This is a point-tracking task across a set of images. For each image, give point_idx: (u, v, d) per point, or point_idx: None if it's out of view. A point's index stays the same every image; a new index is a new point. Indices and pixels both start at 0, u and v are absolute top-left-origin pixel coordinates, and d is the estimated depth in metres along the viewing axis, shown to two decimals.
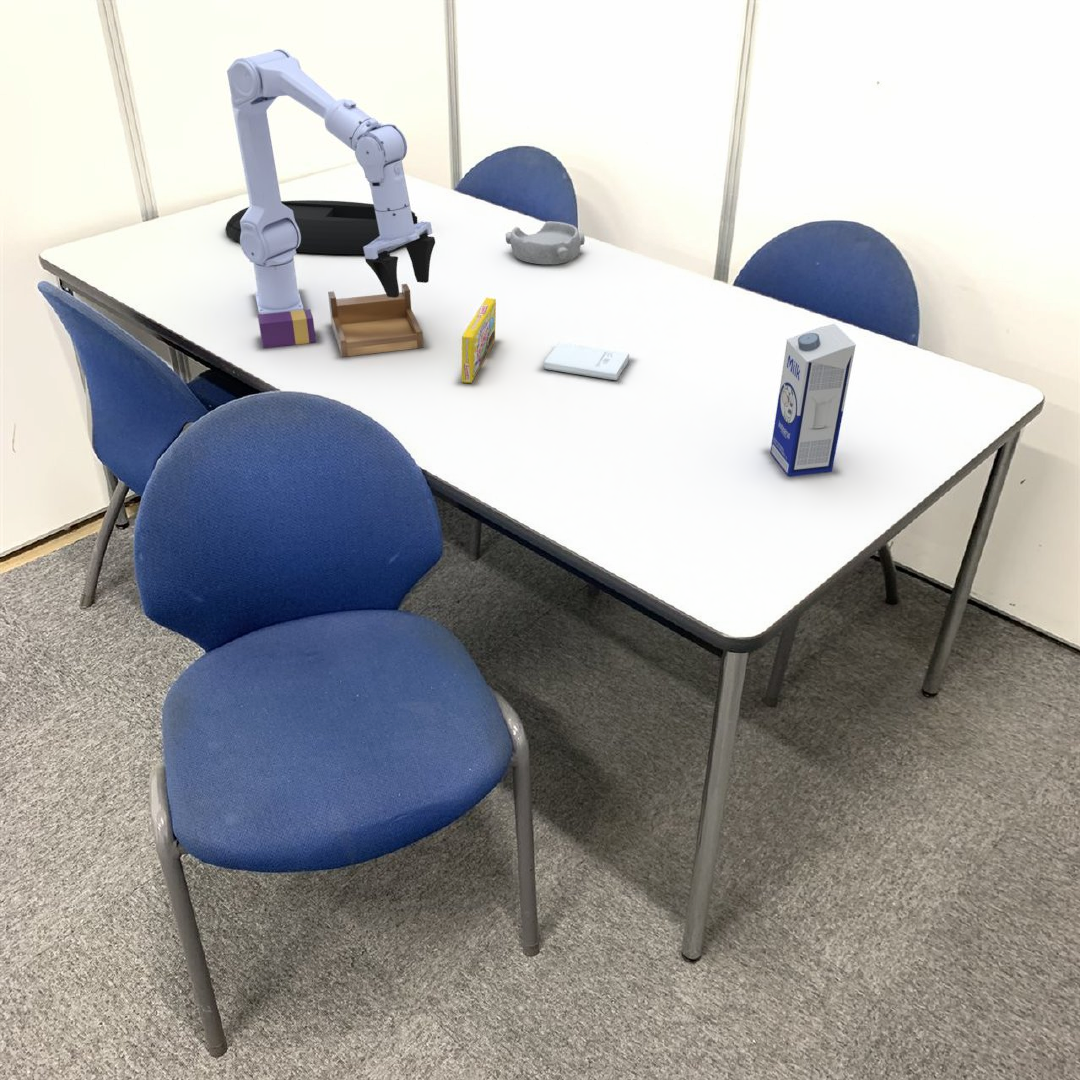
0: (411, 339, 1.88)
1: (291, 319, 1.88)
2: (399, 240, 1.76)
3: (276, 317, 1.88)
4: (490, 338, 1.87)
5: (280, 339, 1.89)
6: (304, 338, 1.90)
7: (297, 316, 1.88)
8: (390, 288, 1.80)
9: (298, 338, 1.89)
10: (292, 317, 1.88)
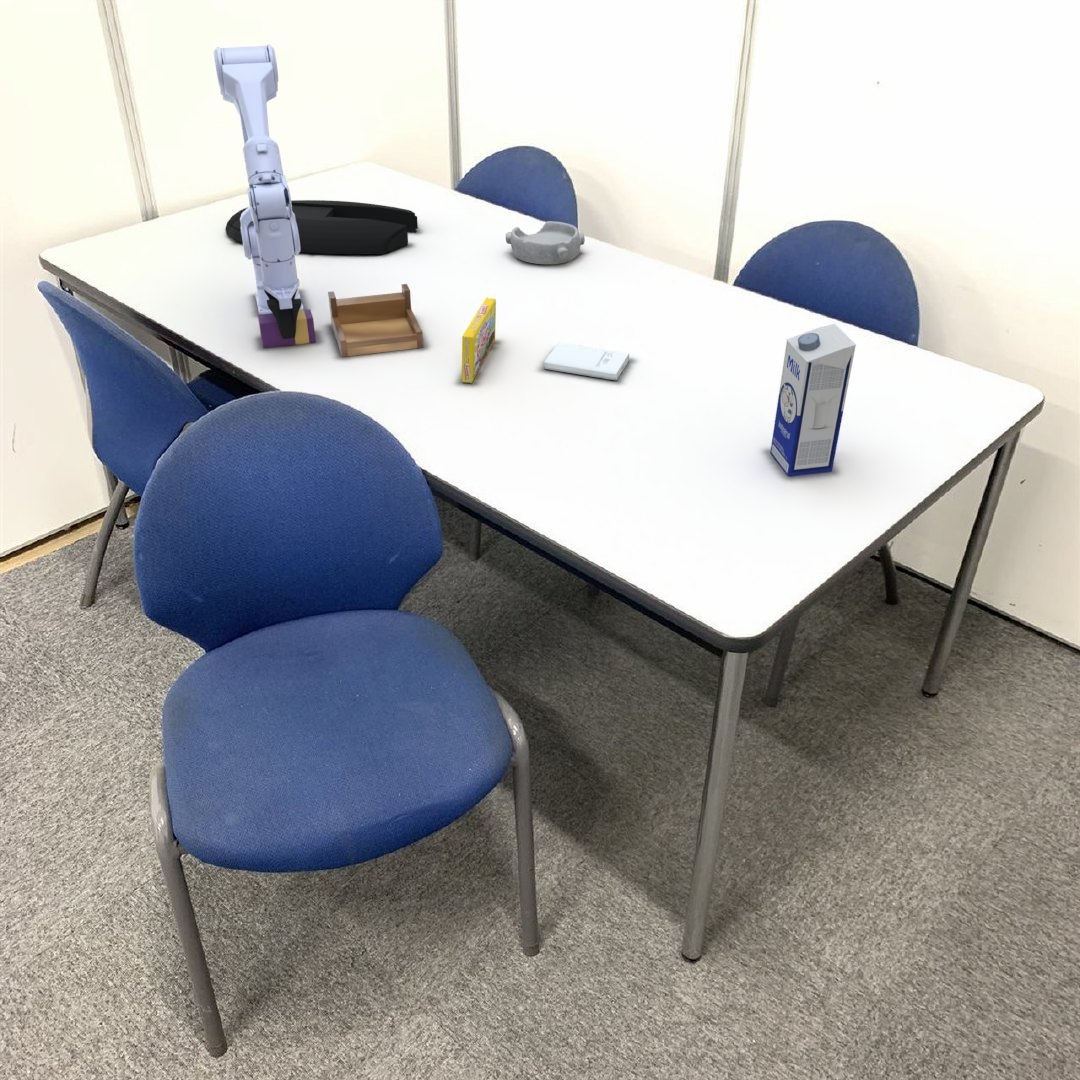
0: (411, 339, 1.88)
1: None
2: None
3: None
4: (490, 338, 1.87)
5: (280, 339, 1.89)
6: (304, 338, 1.90)
7: (297, 316, 1.88)
8: None
9: (298, 338, 1.89)
10: None
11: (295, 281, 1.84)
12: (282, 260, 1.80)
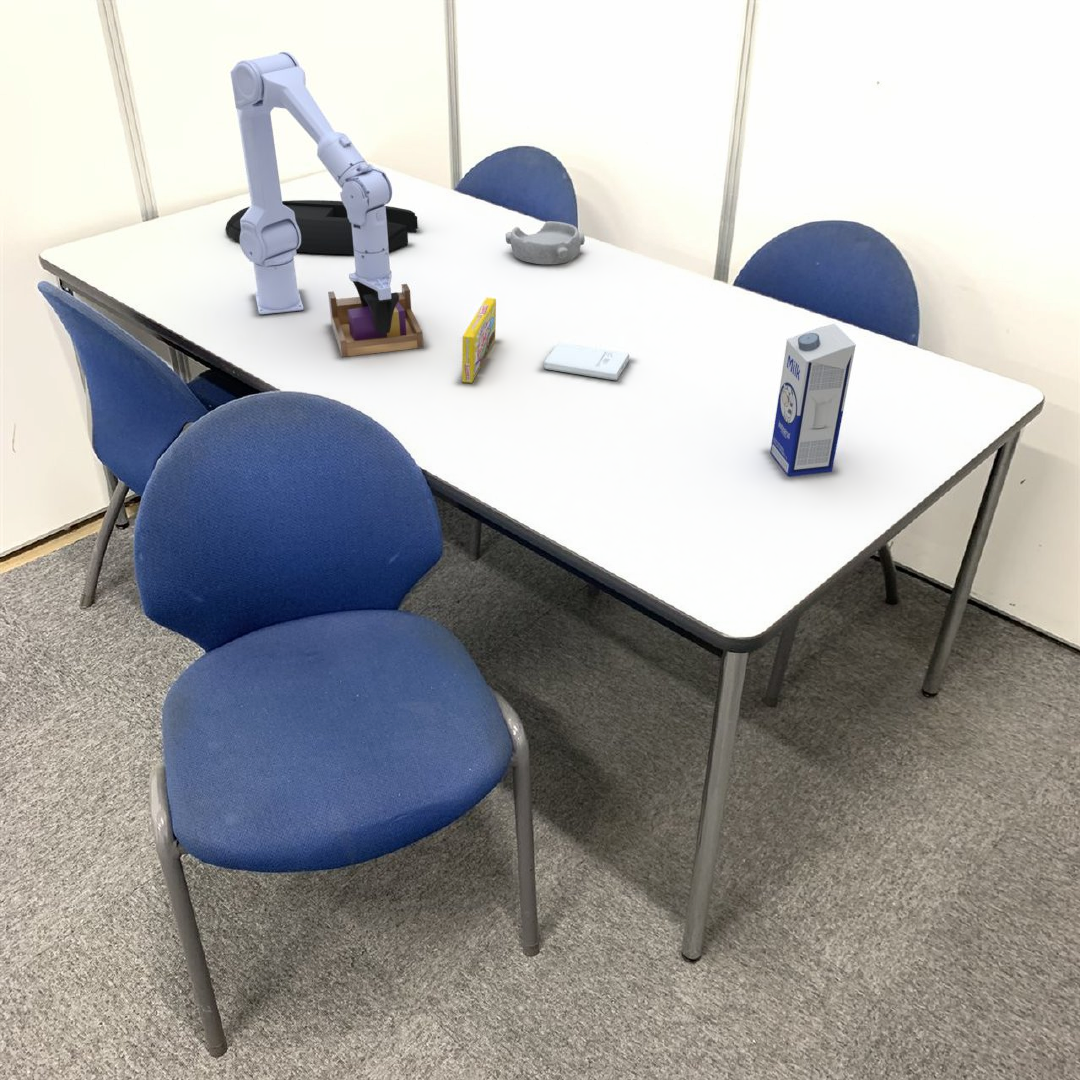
0: (411, 339, 1.88)
1: None
2: (355, 271, 1.85)
3: (368, 311, 1.87)
4: (490, 338, 1.87)
5: (372, 333, 1.87)
6: (396, 331, 1.89)
7: None
8: None
9: (390, 331, 1.88)
10: None
11: (389, 272, 1.83)
12: (385, 248, 1.80)
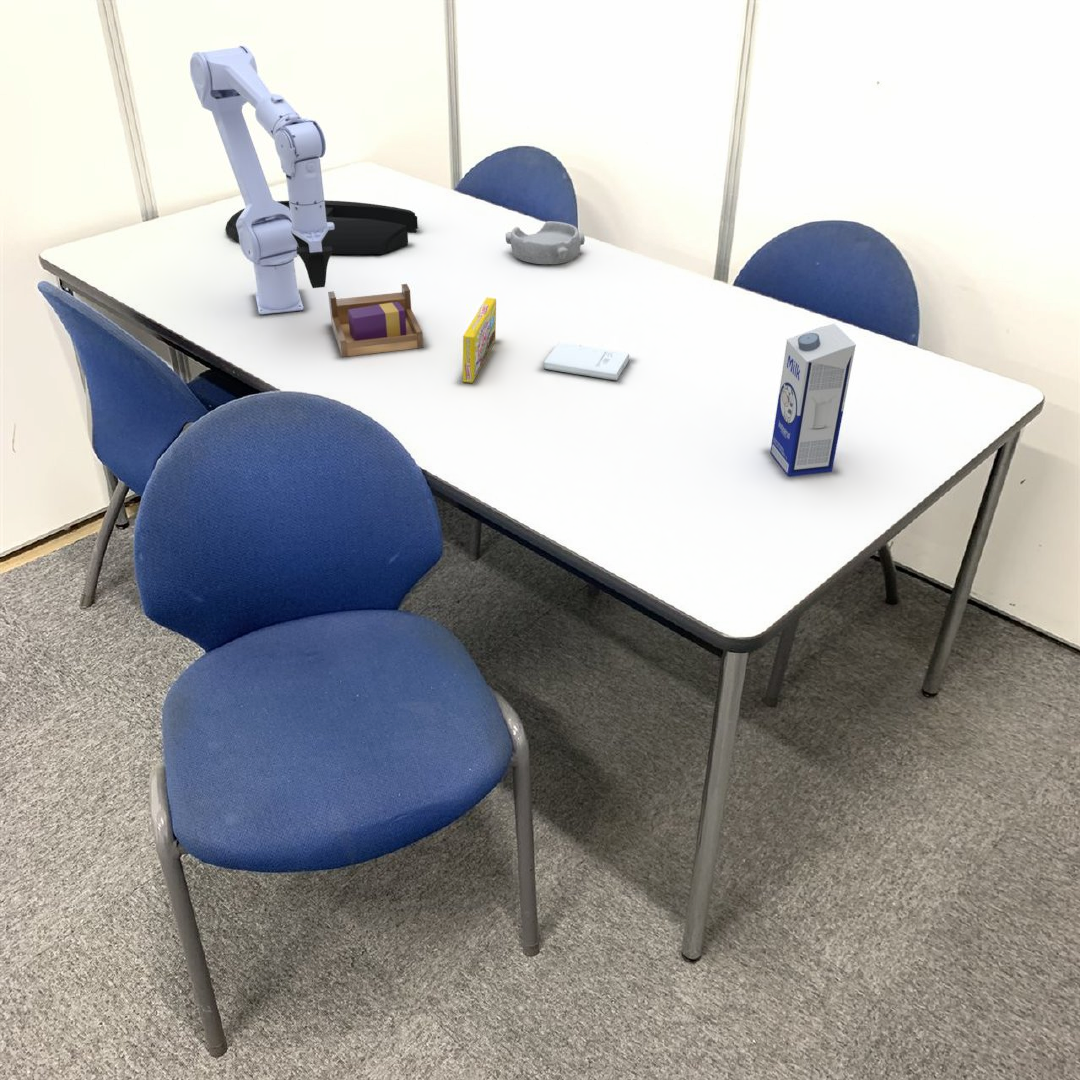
0: (411, 339, 1.88)
1: (383, 312, 1.87)
2: (326, 230, 1.82)
3: (368, 311, 1.87)
4: (491, 338, 1.87)
5: (372, 333, 1.87)
6: (396, 331, 1.89)
7: (388, 309, 1.87)
8: (319, 279, 1.84)
9: (390, 331, 1.88)
10: (384, 310, 1.87)
11: None
12: (318, 201, 1.79)
